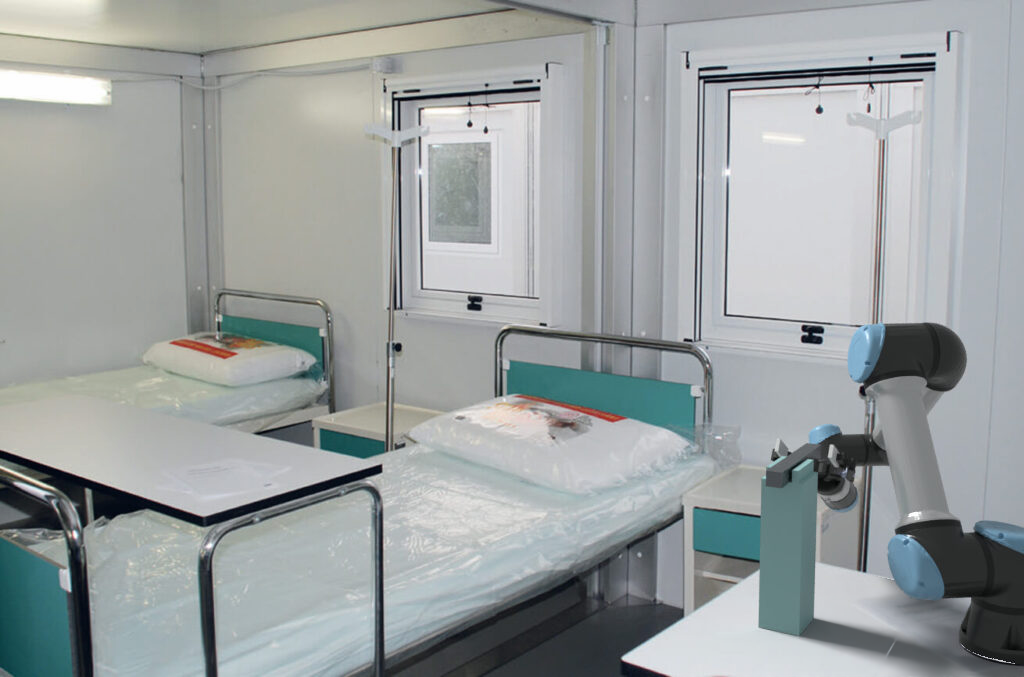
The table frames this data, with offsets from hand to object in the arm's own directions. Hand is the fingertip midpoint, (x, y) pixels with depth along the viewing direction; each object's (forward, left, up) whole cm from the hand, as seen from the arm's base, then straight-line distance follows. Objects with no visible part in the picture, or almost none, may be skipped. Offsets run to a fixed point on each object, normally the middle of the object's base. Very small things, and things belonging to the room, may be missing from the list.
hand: (803, 447), depth 200 cm
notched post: (-4, +8, -34) cm, 35 cm away
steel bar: (-2, +5, -4) cm, 7 cm away
